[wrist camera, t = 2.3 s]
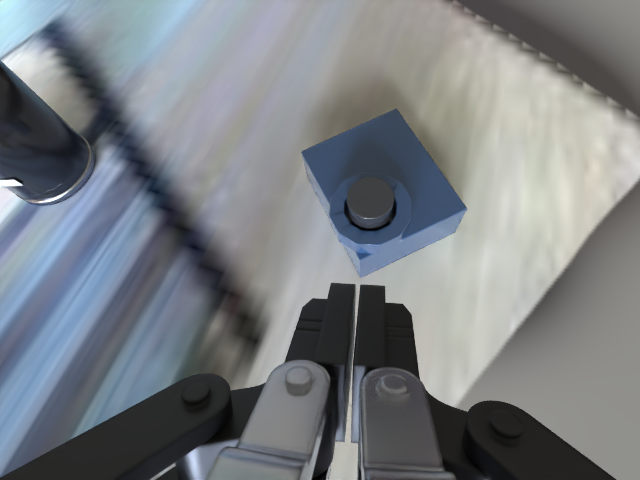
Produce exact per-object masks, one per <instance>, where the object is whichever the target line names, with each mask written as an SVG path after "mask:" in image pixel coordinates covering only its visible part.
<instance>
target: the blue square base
mask: <svg viewBox="0 0 640 480" xmlns="http://www.w3.org/2000/svg"><path fill="white" fill-rule="evenodd" d="M301 154H302V158H303V161H304V165H305V169H306V173H307V177H308V180H309V182H310V184H311V186H312V188H313V189H314V191H315V193H316V195H317V197H318V199H319V201H320V203H321V204H322V206H323V208H324V210H325V212H326V214H327V216H328V218H329V219H330V222H331V227H332V228H333V230H334V232H335V234H336V236H337V238H338V240H339V242H341V243H342V244H343V246H344V248H345V250H346V251H347V253H348V255H349V257H350V259H351V261H352V263H353V265H354V266H355V268H356V270H357V272H358V274H359V276H360V277H363V276H365V275H368V274H370V273H372V272H374V271H376V270H378V269H380V268H382V267H384V266H386V265H388V264H390V263H392V262H394V261H396V260H399V259H401V258H403V257H405V256H407V255H409V254H411V253H413V252H415V251H417V250H419V249H421V248H423V247H425V246H427V245H430V244H432V243H434V242H436V241H438V240H440V239H442V238H444V237H446V236H448V235H450V234H452V233H454V232H455V231H456V229H457V227H458V225H459V223H460V222H461V220H462V218H463V216H464V214H465V212H466V210H467V208H466V206H465V205H464V203H463V202H462V200H461V199H460V198H459V196H458V195H457V193H456V192H455V191H454V189H453V188H452V186H451V185H450V183H449V182H448V181H447V179H446V178H445V176H444V175H443V174H442V172H441V171H440V169H439V168H438V166H437V165H436V164H435V162H434V161H433V159H432V158H431V157H430V155H429V154H428V152H427V151H426V150H425V148H424V147H423V145H422V144H421V142H420V141H419V140H418V138H417V137H416V135H415V134H414V133H413V131H412V130H411V128H410V127H409V125H408V124H407V123H406V121H405V120H404V118H403V117H402V116H401V114H400V113H399V111H398V110H397V109H394V110H392V111H389V112H387V113H385V114H383V115H381V116H378V117H376V118H374V119H372V120H370V121H367V122H365V123H363V124H361V125H359V126H356V127H354V128H352V129H350V130H348V131H345V132H343V133H341V134H339V135H337V136H334V137H332V138H330V139H328V140H326V141H323V142H321V143H319V144H317V145H315V146H312V147H310V148H308V149H306V150H304V151H302V152H301ZM367 177H375V178H379V179H381V180H383V181H385V182H386V183H388V184H389V185H390V187H391V188H392V190H393V193H394V206H393V213H392V216H391V218H390V220H389V221H388V222H387V223H386V224H385V225H383V226H382V227H379V228H376V229H364V228H361V227H359V226H357V225H356V224H355V223H353V221H352V220H351V219H350V217H349V214H348V207H347V194H348V191H349V189H350V187H351V186H352V185H353V184H354V183H355V182H357V181H358V180H360V179H363V178H367Z"/></svg>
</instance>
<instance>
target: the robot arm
mask: <svg viewBox="0 0 640 480" xmlns="http://www.w3.org/2000/svg"><path fill="white" fill-rule="evenodd" d="M94 164H95V153H94V150H93V147H92V146H91V144H90V143H89V142H88V141H87V140H86V139H85V138H84V137H83V136H82V135H80V134H79V133H77V132H76V131H75V130H74V129H73V128H72V127H71V126H70V125H69V124H68V123H67V122H66V121H65V120H64V119H63V118H61V117H60V116H59V115H58V114H57V113H56V112H55V111H54V110H53V109H52V108H51V107H50V106H49V105H48V104H46V103H45V102H44V101H43V100H42V99H41V98H40V97H39V96H38V95H37V94H36V93H35V92H34V91H33V90H32V89H30V88H29V87H28V86H27V85H26V84H25V83H24V82H23V81H22V80H21V79H20V78H19V77H18V76H17V75H16V74H14V73H13V72H12V71H11V70H10V69H9V68H8V67H7V66H6V65H5V64H4V63H3V62H2V61H1V60H0V187H2V186H3V187H5V188H7V189H8V190H10V191H12V192H13V193H15V194H16V195H17V196H18V197H20V198H21V199H23V200H25V201H26V202H28V203H31V204H34V205H41V206H44V205H52V204H56V203H59V202H61V201H64V200H66V199H67V198H69V197H71V196H72V195H74V194H75V193H76V192H77V191H79V190H80V189H81V188H82V187H83V186H84V184H85V183H86V182H87V180H88V179H89V177H90V175H91V173H92V171H93V168H94ZM355 296H356V285H355V284H340V283H331V286H330V290H329V294H328V298H327V299H315V298H313V299H311V300H310V301H309V302H308V303H307V304H306V305H305V306H304V307H303V308H302V311H301V314H300V317H299V321H298V323H297V326H296V330H295V332H294V335H293V338H292V341H291V344H290V347H289V350H288V353H287V356H286V359H285V362H284V363H283V364H281V365H279V366H278V367H276V368H275V369H274V370H273V371H272V372H271V374H270V375H269V377H268V379H267V381H266V383H264V384H262V385H259V386H255V387H250V388H244V389H238V390H232V391H230V386H229V384H228V382H227V381H226V380H225V379H223V378H222V377H220V376H218V375H214V374H197V375H192V376H189V377H187V378H184V379H182V380H180V381H178V382H177V383H175V384H173V385H171V386H169V387H167V388H166V389H164V390H162V391H160V392H158V393H156V394H154V395H153V396H151V397H149V398H147V399H145V400H143V401H141V402H140V403H138V404H136V405H134V406H132V407H130V408H129V409H127V410H125V411H123V412H121V413H119V414H117V415H116V416H114V417H112V418H110V419H108V420H106V421H105V422H103V423H101V424H99V425H97V426H95V427H93V428H92V429H90V430H88V431H86V432H84V433H82V434H80V435H79V436H77V437H75V438H73V439H71V440H69V441H68V442H66V443H64V444H62V445H60V446H58V447H56V448H55V449H53V450H51V451H49V452H47V453H45V454H43V455H42V456H40V457H38V458H36V459H34V460H32V461H31V462H29V463H27V464H25V465H23V466H21V467H19V468H18V469H16V470H14V471H12V472H10V473H8V474H6V475H5V476H3V477H1V478H0V480H150V479H151V478H153V477H154V476H156V475H157V474H159V473H160V472H162V471H163V470H165V469H166V468H168V467H169V466H171V465H172V464H174V463H175V465H176V466H174V467H173V468H171V469H170V470H168V471H167V472H165V473H164V474H163V475H161V476H160V477H158V478H157V479H155V480H329V477H330V471H331V462H332V459H333V454H334V446H335V441H341V442H345V432H346V422H347V411H348V401H349V391H350V381H351V370H352V360H353V382H352V424H351V443H358V470H357V480H616V479H615V478H613V477H612V476H611V475H609V474H608V473H607V472H605V471H604V470H603V469H601V468H600V467H599V466H597V465H596V464H595V463H593V462H592V461H591V460H589V459H588V458H587V457H585V456H584V455H583V454H581V453H580V452H579V451H577V450H576V449H575V448H573V447H572V446H571V445H569V444H568V443H567V442H565V441H564V440H563V439H561V438H560V437H559V436H557V435H556V434H555V433H553V432H552V431H551V430H549V429H548V428H547V427H545V426H544V425H542V424H541V423H540V422H538V421H537V420H536V419H535V418H533V417H532V416H531V415H529V414H528V413H526V412H525V411H523V410H522V409H519V408H518V407H516V406H514V405H511V404H508V403H505V402H500V401H483V402H479V403H477V404H475V405H474V406H472V407H471V408H470V409H469V411H468V412H466V411H463V410H460V409H457V408H454V407H451V406H449V405H446V404H444V403H442V402H440V401H438V400H437V399H435V398H434V397H433V396H432V395H430V394H429V393H428V392H427V391H426V389H425V387H424V385H423V383H422V382H421V381H420V377H419V370H418V362H417V354H416V346H415V339H414V330H413V323H412V315H411V313H410V312H409V311H408V310H407V308H406V307H405V306H404V305H403V304H396V303H385V286H377V285H360V295H359V305H358V316H357V327H356V337H355V348H354V333H355ZM353 350H354V359H353Z"/></svg>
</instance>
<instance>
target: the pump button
mask: <svg viewBox="0 0 640 480" xmlns="http://www.w3.org/2000/svg"><path fill="white" fill-rule="evenodd" d="M393 206H394V193H393V190H392V188H391V187H390V185H389V184H388V183H386V182H385V181H383V180H381V179H379V178H375V177H367V178H363V179H360V180H358V181H357V182H355V183H354V184H353V185H352V186H351V187H350V189H349V191H348V194H347V207H348V214H349V217H350V219H351V220H352V221H353V223H355V224H356V225H357V226H359V227H361V228H364V229H376V228H379V227H382V226H383V225H385V224H386V223H387V222H388V221H389V220H390V218H391V216H392V213H393Z"/></svg>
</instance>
